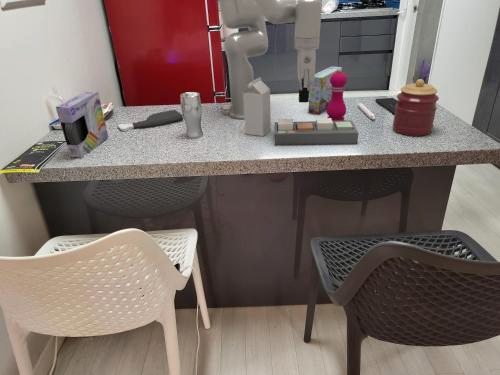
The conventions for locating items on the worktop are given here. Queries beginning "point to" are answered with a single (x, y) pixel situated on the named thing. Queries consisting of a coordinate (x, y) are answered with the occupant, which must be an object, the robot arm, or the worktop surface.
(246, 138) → the worktop surface
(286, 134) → the keypad
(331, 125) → the key white mid
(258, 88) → the milk carton
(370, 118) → the marker
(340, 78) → the pepper mill
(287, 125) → the key white left
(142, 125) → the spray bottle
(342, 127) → the key sage
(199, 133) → the beer glass
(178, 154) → the worktop surface
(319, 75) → the snack box
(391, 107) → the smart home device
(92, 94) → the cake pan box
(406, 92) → the canister
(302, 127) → the key terracotta
